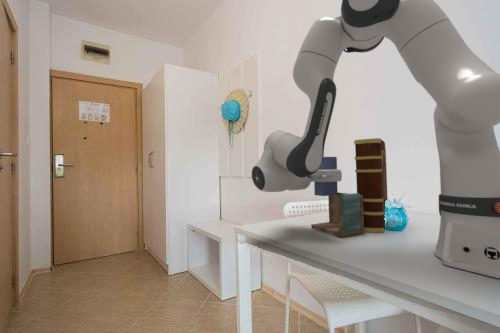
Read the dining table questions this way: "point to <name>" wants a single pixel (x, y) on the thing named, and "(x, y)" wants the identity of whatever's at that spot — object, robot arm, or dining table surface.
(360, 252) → the dining table surface
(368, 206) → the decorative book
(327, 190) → the navy book
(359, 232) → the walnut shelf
